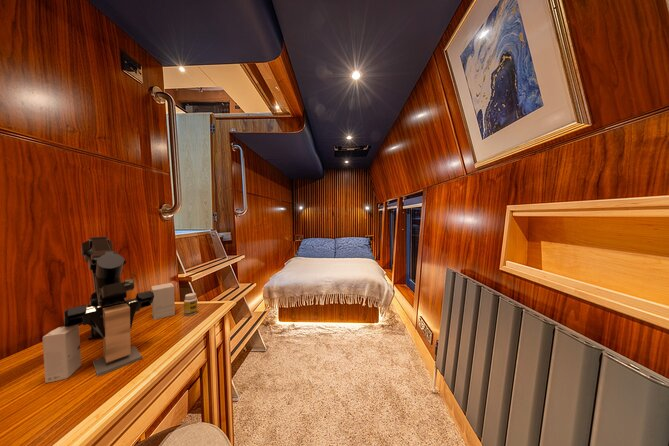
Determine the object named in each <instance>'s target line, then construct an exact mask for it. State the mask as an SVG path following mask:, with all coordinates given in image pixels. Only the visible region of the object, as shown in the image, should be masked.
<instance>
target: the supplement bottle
mask: <svg viewBox="0 0 669 446" xmlns="http://www.w3.org/2000/svg"><path fill="white" fill-rule="evenodd" d="M183 304H184V305H183V307H184V308H183V310H184V311H183V312H184V313H183V314H184V316H185V317H188V316H189V317H190V316H194V315H196V314H197V313H198V298H197V293H196V292H191V293H190V292H189V293H187V294H185V296H184V301H183Z"/></svg>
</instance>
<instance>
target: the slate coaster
mask: <svg viewBox="0 0 669 446" xmlns="http://www.w3.org/2000/svg"><path fill="white" fill-rule="evenodd" d="M140 360H143V355H142V353H140V351H139V350H138V348H137V347H136V345H133V346H131V354H130V355H127V356H124V357H121V358H119V359H116V360H113V361H111V362H108V363H106V361H105V358H104V356H101V357H99V358H96V359H94V360H92V362H93V363H92V365H93V367H94V370H95V373H96V375H97V378H98V377H100V376H104V375H106V374H109V373H110V372H113V371H116V370H118V369H120V368H124V367H125V366H126V367H127V365H130V364H132V363H136V362H138V361H140Z"/></svg>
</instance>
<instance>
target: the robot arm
mask: <svg viewBox="0 0 669 446" xmlns="http://www.w3.org/2000/svg"><path fill="white" fill-rule="evenodd" d="M80 251H81V256H82V257H84V262H85V263H87V264H88V265H87V266H88V271H91V273H92V280H93V281H92V282H93V291H94V292H92V293H91V296H90V298H89V304H83V305H78V306H72V307H68V308H65V310H64V312H63V324H64V325H63V326H65V327H69V326H73V325H77V324H79V325H80V324H82V326H86V325H87V326H89V327H90V336H88V337H87V340H93V339H103V338H104V337H105V330H104V327H103V308H107V307H111V306H115V305H120V304H124V303H127V304H128V306H129V307H130V330H131V329H132V326H133V321H134V316H135V314H136V313H137V312H139V311H140V310H141V309H143V308H148V307H150V306H152V302H153V299H154V294H153V292H152V291H151V290H147V291H142V292H138V293H136V295H135V297H133V298H130V299H127V297H128V295H127V292H128V291H133V290H134V289H135V283H134V279H133V278H129V279H125V280H124V281H123V282H122V277H121V275H122V272H123V267H124V266H125V265H126V264H127V261H126V259H125V258H124V257H123V256H122V255H120V254H119V252H117V251H115V250H114V246H113V241H112V240H110V239H109V237H108V236H94V237H93V236H92V237H88V240H87V241H85V242H82V243H81V248H80Z"/></svg>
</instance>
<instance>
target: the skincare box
mask: <svg viewBox="0 0 669 446" xmlns="http://www.w3.org/2000/svg"><path fill="white" fill-rule="evenodd" d="M80 338H81V337H80V324H77V325H73V326H69V327H65V326H64V325H63V326H59V327H57V328H55V329H53V330H50V331H49V332H48V333H46V334H45V335H44V336H42V351H43V366H44V367H43V368H44V381H45V383H46V384H47V383H53V382H57V381H61V380H66V379H68V378H69V377H71V376H72V375H73V374H74V373H75V372H76V371H77V370H79V368H80V367H81V366H82V355H81V354H82V353H81V352H82V351H81V339H80Z"/></svg>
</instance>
